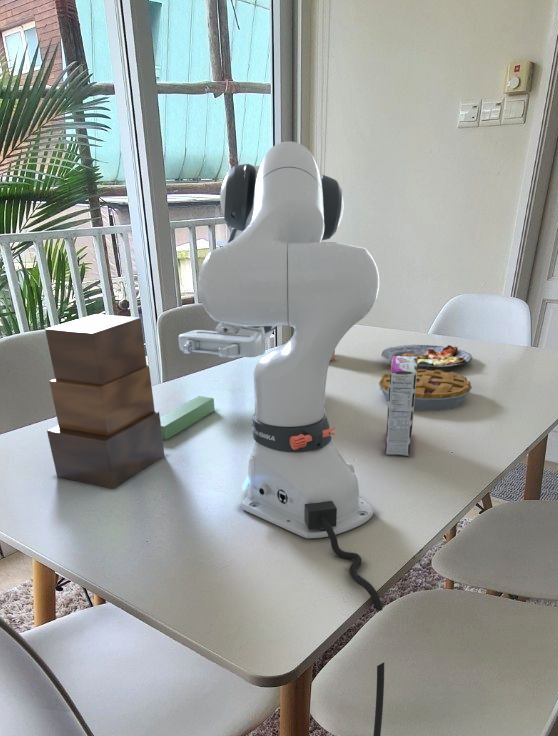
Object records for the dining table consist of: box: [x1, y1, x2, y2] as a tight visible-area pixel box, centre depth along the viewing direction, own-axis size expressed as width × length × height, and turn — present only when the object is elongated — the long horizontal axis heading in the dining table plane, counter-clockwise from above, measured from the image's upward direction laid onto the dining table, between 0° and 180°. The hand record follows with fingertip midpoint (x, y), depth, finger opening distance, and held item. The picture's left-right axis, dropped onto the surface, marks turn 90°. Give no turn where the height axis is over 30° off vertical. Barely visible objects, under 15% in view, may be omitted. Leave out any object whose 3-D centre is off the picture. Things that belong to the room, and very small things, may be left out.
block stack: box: [44, 313, 165, 489], centre depth 111 cm, size 16×13×26 cm
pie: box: [377, 368, 473, 411], centre depth 148 cm, size 22×22×5 cm
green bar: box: [160, 395, 216, 441], centre depth 137 cm, size 20×4×3 cm, turn 154°
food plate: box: [381, 344, 473, 369], centre depth 175 cm, size 25×23×4 cm
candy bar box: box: [384, 356, 418, 457], centre depth 119 cm, size 11×5×16 cm, turn 168°
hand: (203, 351), depth 138 cm, fingers open, 8 cm apart
